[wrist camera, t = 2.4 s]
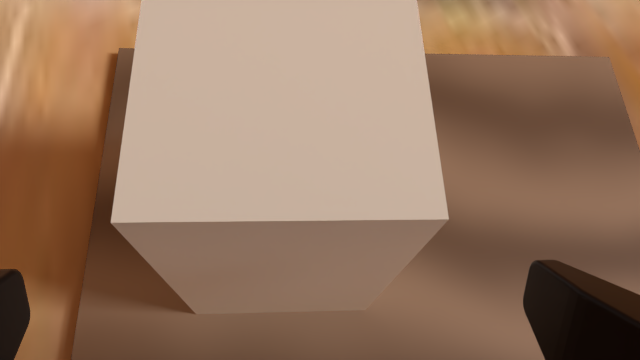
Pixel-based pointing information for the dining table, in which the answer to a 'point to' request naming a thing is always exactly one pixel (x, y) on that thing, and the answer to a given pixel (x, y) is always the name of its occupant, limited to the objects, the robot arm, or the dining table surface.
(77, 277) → the dining table surface
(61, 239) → the dining table surface
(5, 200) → the dining table surface
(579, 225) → the board
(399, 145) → the cream matte box
